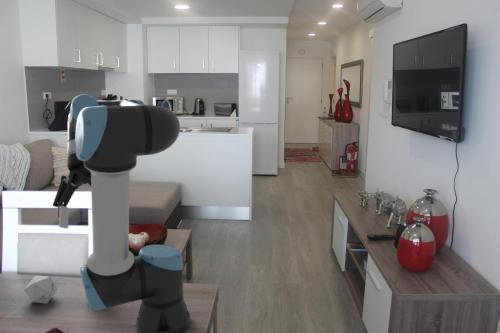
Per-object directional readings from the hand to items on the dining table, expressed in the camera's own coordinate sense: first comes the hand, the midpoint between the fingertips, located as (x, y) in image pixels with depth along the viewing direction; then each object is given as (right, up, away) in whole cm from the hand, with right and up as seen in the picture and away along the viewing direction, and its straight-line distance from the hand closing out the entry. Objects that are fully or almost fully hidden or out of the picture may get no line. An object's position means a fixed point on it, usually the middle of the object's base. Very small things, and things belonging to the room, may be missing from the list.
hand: (80, 221), depth 123 cm
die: (-16, -27, +10) cm, 33 cm away
